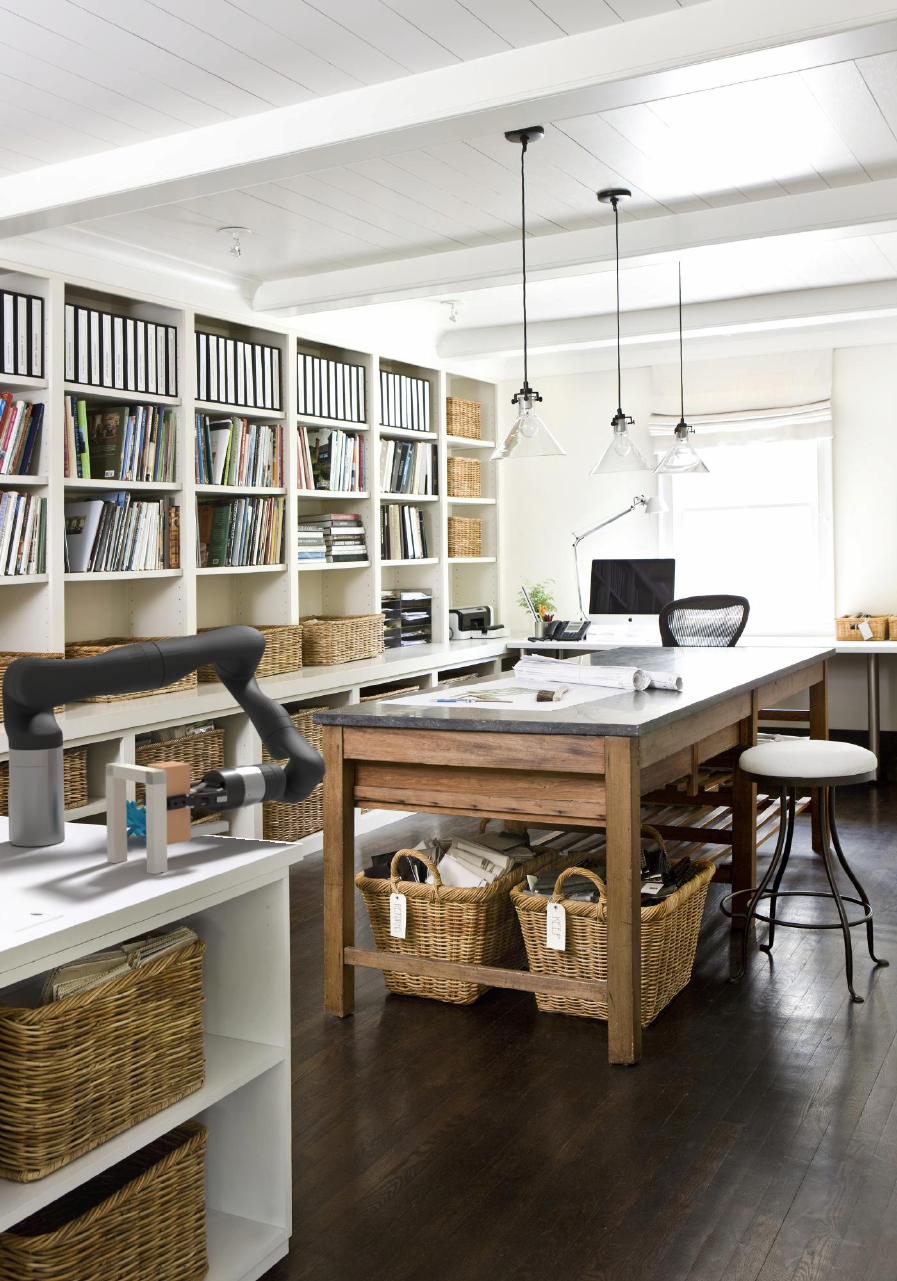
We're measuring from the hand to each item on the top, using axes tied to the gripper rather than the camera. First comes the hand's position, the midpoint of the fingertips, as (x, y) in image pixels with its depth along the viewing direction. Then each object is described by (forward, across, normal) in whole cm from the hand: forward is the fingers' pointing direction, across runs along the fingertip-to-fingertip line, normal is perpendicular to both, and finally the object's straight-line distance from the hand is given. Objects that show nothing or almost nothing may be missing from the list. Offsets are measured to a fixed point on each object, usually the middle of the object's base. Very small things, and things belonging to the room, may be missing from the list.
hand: (154, 801), depth 191 cm
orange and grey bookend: (-7, 0, -7) cm, 10 cm away
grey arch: (+3, 0, -10) cm, 11 cm away
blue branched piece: (-8, +14, -10) cm, 20 cm away
